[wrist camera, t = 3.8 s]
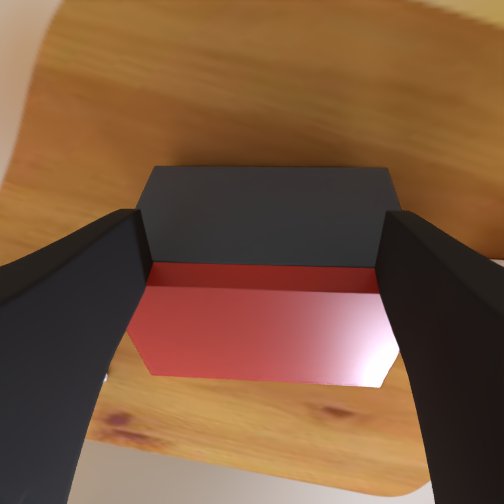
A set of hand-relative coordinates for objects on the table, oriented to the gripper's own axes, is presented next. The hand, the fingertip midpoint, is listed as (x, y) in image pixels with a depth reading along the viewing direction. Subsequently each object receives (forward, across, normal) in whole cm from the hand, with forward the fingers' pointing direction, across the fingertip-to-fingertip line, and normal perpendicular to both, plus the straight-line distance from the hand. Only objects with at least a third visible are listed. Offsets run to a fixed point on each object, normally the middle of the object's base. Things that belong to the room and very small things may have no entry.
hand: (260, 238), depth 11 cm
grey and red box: (+6, 0, +3) cm, 7 cm away
